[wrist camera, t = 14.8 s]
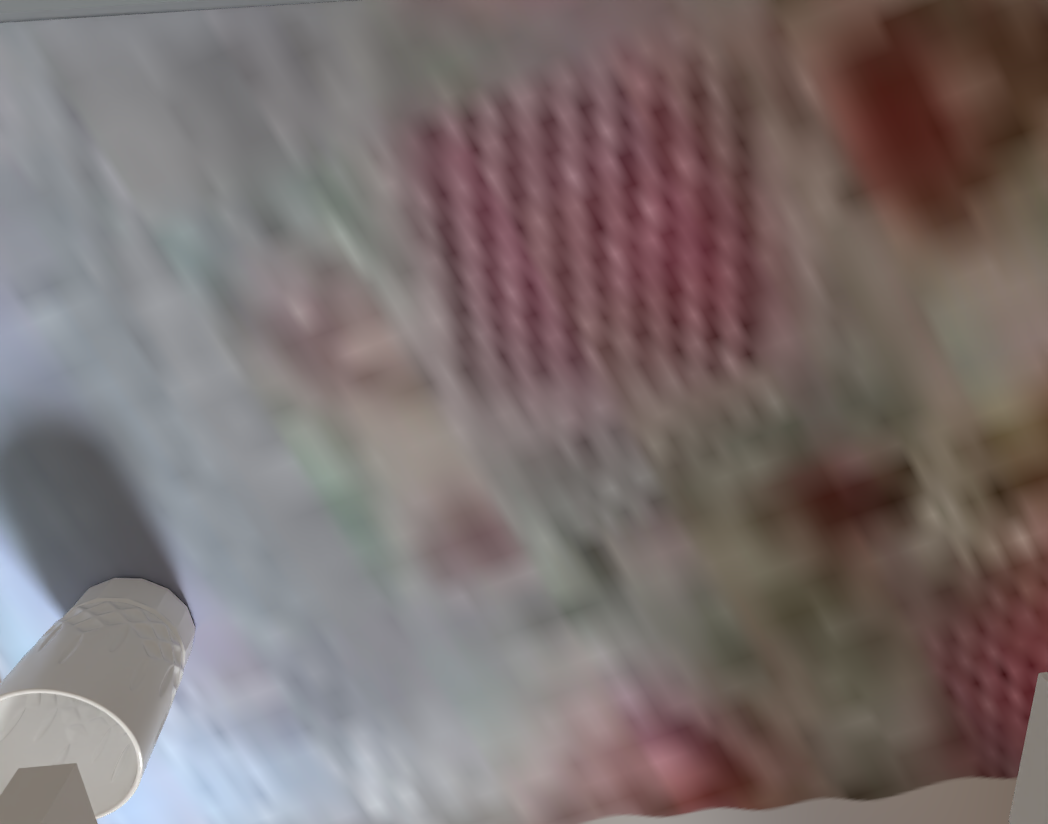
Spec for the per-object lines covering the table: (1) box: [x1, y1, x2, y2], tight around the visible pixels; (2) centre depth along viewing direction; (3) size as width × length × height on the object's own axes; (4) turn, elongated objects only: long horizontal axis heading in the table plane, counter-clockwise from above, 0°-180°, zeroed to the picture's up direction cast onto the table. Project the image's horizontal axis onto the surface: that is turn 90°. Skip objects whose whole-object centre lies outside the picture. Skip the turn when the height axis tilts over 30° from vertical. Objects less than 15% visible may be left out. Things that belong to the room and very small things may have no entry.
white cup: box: [0, 578, 196, 819], centre depth 42 cm, size 8×8×10 cm
